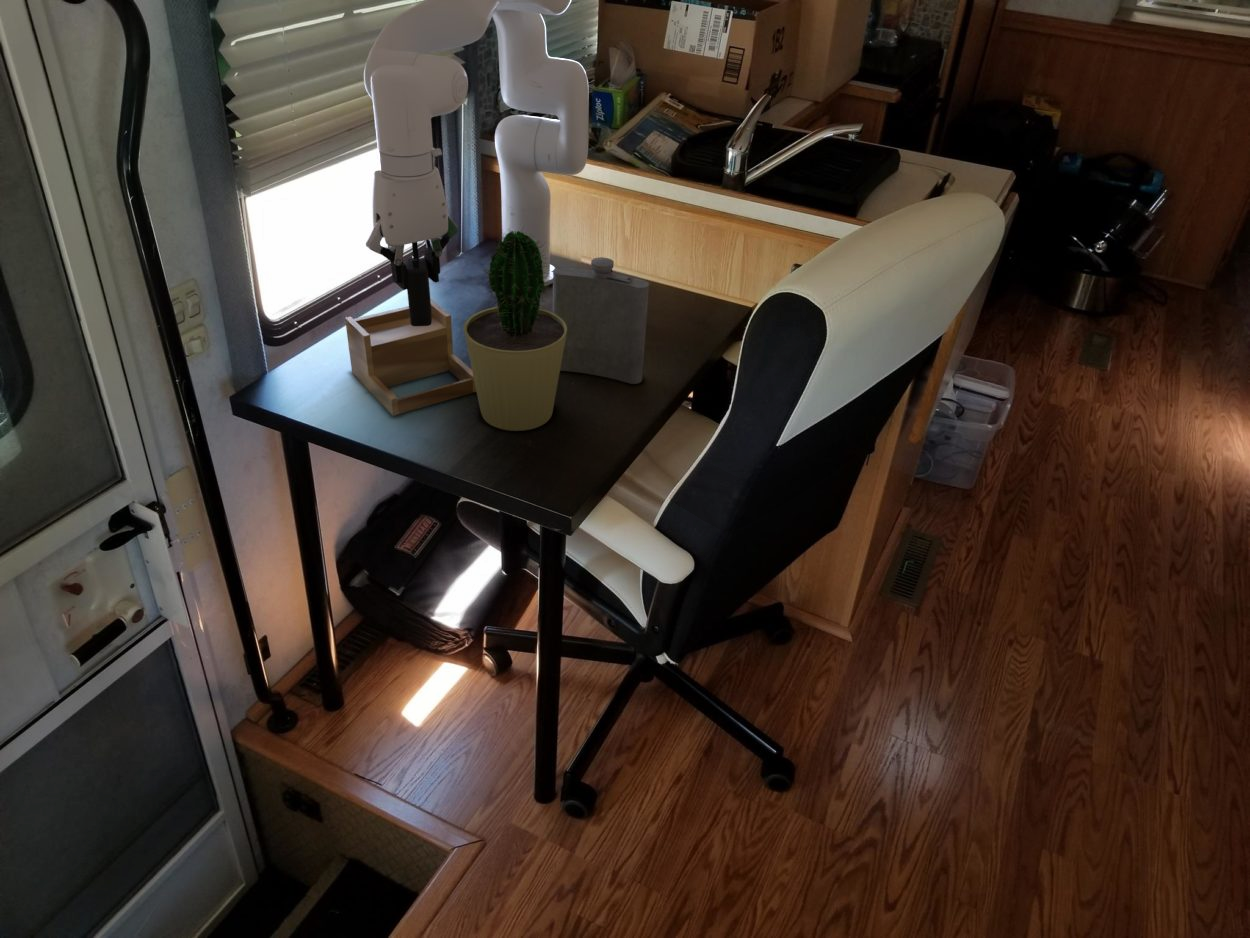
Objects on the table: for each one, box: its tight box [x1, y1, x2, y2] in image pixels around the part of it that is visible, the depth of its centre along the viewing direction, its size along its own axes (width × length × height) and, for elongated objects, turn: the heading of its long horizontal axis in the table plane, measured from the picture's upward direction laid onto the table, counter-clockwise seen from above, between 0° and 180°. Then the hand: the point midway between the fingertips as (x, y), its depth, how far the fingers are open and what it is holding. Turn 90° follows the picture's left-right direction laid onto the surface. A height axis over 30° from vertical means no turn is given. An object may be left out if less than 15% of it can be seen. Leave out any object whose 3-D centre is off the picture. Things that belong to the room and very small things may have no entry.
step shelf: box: [344, 298, 477, 417], centre depth 151 cm, size 16×15×10 cm
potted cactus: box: [462, 227, 567, 432], centre depth 139 cm, size 15×15×30 cm
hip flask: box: [552, 256, 650, 385], centre depth 154 cm, size 16×4×20 cm, turn 75°
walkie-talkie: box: [405, 242, 432, 326], centre depth 140 cm, size 5×3×15 cm
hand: (417, 281), depth 141 cm, fingers closed on walkie-talkie, 4 cm apart
